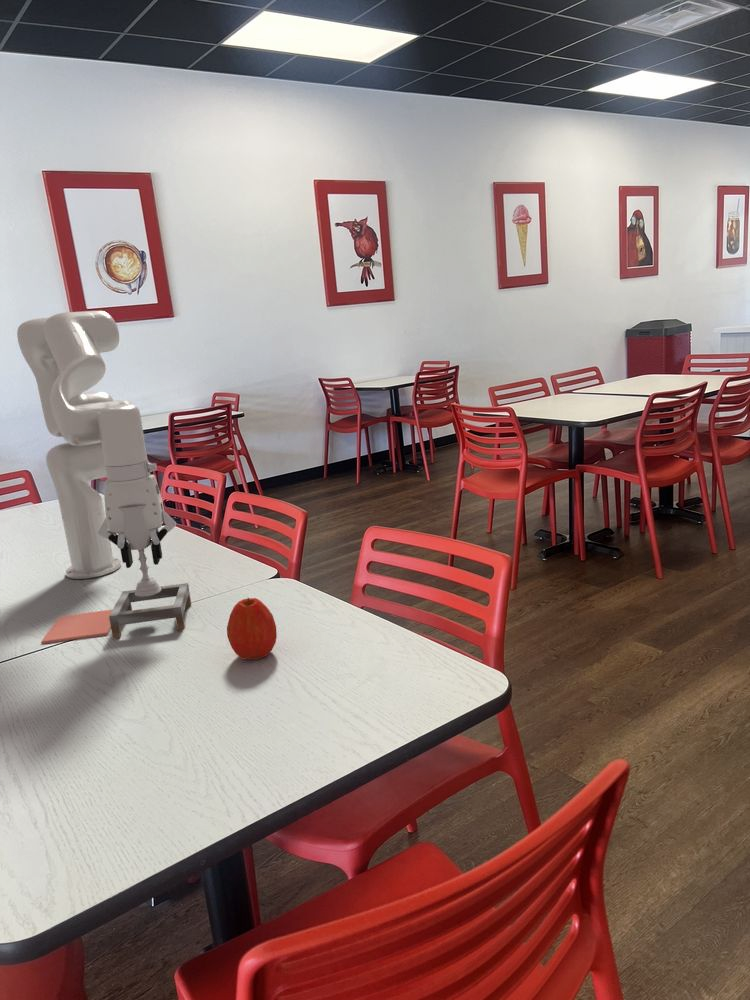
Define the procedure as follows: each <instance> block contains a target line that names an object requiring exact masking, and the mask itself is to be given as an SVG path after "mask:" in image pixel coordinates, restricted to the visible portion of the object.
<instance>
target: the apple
mask: <svg viewBox="0 0 750 1000" xmlns="http://www.w3.org/2000/svg"><path fill="white" fill-rule="evenodd" d="M226 634H227V635H226V636H227V639H228V642H229V645H230V647H231V649H232V650H233V652H234V653H235V654H236V655H237V656H238V657H239V658H241V659H244V660H256V659H261V658H264V657H267V656H268V655H269V654H270V653H271V652H272V650H273V649H274V647H275V645H276V643H277V624H276V622H275V618H274V616H273V613H272V612H271V611H270V609H269V608H268V607H267V605H265V603H264V602H262V601H261V600H260V599H259V598H257V597H254V598H250V597H247V598H243V599H241V600H239V601H238V602H236V604H235V605H234V606H233V608H232V610H231V611H230V614H229V618H228V621H227V625H226Z"/></svg>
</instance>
